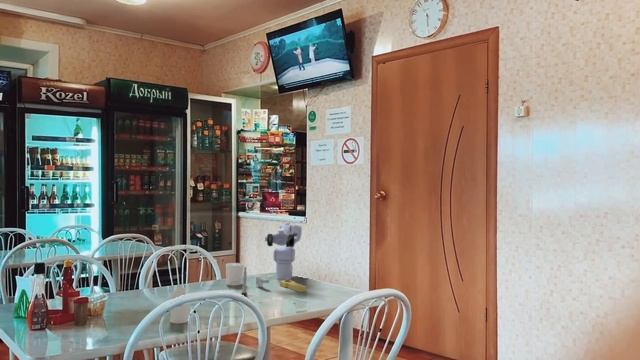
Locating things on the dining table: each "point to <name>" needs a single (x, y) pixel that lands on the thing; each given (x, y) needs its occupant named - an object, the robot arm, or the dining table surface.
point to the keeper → (261, 281)
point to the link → (293, 286)
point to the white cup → (234, 273)
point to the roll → (179, 308)
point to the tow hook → (244, 284)
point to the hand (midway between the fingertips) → (278, 244)
